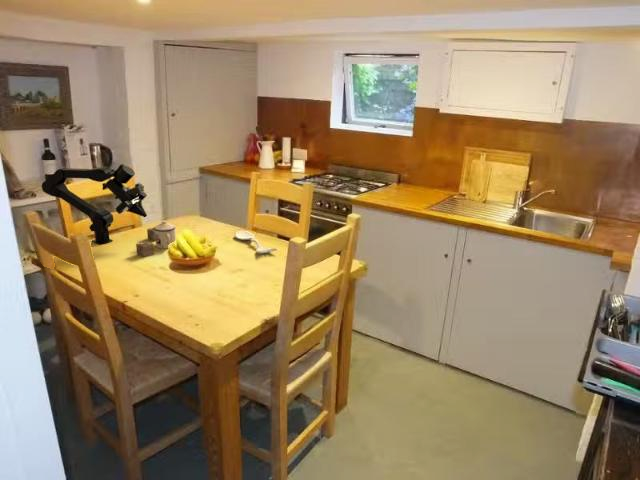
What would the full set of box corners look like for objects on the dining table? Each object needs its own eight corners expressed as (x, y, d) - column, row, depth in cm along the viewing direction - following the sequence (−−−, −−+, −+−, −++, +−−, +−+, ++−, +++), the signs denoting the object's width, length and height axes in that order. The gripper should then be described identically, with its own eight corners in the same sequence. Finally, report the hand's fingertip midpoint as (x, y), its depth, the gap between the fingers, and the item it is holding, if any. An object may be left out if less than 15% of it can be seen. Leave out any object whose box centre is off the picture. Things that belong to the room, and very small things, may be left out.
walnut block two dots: (137, 255, 198) (136, 243, 197) (146, 251, 202) (145, 240, 201) (144, 257, 196) (143, 246, 194) (154, 254, 200) (153, 243, 198)
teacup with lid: (153, 243, 212) (151, 219, 208) (173, 241, 216) (172, 217, 212) (159, 252, 202) (157, 227, 198) (180, 249, 206) (178, 224, 203)
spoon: (258, 258, 201) (258, 251, 200) (231, 236, 226) (231, 229, 225) (277, 255, 206) (277, 248, 204) (248, 234, 231) (248, 227, 230)
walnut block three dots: (147, 239, 217) (146, 228, 216) (156, 236, 221) (155, 226, 220) (154, 241, 215) (154, 231, 213) (163, 238, 219) (162, 228, 217)
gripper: (119, 183, 191) (147, 210, 194) (141, 174, 209) (166, 199, 212) (103, 200, 195) (131, 227, 197) (126, 190, 212) (151, 215, 215)
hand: (146, 216), depth 205 cm, fingers closed
